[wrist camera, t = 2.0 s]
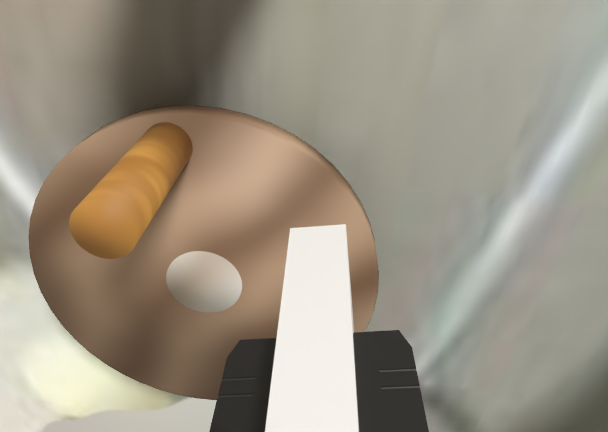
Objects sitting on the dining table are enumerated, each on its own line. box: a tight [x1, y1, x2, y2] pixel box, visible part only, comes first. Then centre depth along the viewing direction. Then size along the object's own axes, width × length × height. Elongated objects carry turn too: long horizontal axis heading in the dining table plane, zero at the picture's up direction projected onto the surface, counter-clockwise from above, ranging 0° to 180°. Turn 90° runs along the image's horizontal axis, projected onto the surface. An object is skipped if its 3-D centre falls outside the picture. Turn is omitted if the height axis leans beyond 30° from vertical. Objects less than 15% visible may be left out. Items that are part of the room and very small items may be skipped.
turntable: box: [29, 106, 379, 400], centre depth 26 cm, size 20×20×10 cm
